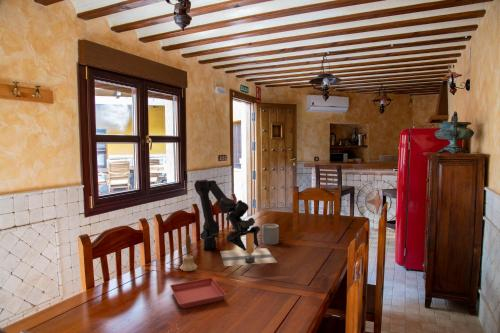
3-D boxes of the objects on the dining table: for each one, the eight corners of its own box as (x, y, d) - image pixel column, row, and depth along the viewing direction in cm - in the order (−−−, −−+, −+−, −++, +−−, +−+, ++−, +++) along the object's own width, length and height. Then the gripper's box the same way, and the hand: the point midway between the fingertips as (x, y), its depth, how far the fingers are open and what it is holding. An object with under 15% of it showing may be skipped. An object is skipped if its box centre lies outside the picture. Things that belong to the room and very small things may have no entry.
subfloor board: (224, 268, 167) (224, 266, 167) (219, 253, 190) (219, 251, 190) (277, 264, 172) (277, 262, 172) (266, 249, 194) (266, 248, 194)
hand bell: (200, 266, 170) (199, 233, 169) (192, 272, 163) (191, 238, 161) (185, 264, 173) (184, 232, 172) (176, 270, 165) (175, 236, 164)
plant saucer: (179, 312, 125) (179, 303, 125) (169, 292, 142) (169, 284, 142) (226, 302, 132) (226, 294, 132) (212, 284, 149) (212, 277, 149)
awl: (246, 263, 170) (246, 235, 169) (244, 260, 175) (244, 233, 174) (255, 263, 171) (255, 234, 170) (253, 259, 176) (253, 232, 174)
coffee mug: (272, 245, 202) (272, 228, 201) (258, 242, 208) (258, 226, 208) (285, 240, 212) (285, 224, 212) (272, 237, 219) (272, 221, 218)
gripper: (229, 215, 168) (245, 243, 160) (257, 210, 180) (273, 235, 173) (219, 229, 174) (234, 256, 167) (247, 222, 187) (262, 247, 179)
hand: (251, 248), depth 171 cm, fingers open, 8 cm apart
